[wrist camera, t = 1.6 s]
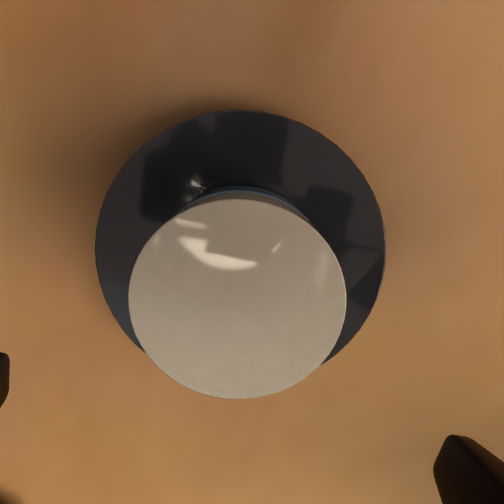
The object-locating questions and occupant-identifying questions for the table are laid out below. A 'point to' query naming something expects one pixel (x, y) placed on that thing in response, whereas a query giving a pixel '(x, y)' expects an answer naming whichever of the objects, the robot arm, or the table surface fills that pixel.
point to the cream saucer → (237, 296)
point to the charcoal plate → (244, 174)
